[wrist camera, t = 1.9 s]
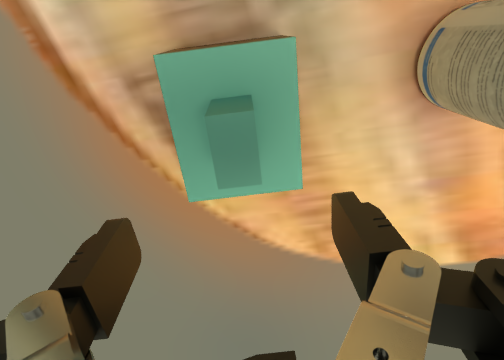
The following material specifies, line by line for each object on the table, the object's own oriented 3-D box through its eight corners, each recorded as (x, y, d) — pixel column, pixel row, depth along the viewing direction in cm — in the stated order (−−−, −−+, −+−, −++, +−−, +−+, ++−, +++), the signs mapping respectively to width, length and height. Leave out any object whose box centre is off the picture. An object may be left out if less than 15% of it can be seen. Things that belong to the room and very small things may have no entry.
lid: (160, 53, 23) (129, 61, 16) (290, 36, 23) (310, 38, 16) (192, 190, 28) (178, 237, 22) (298, 177, 28) (315, 221, 22)
